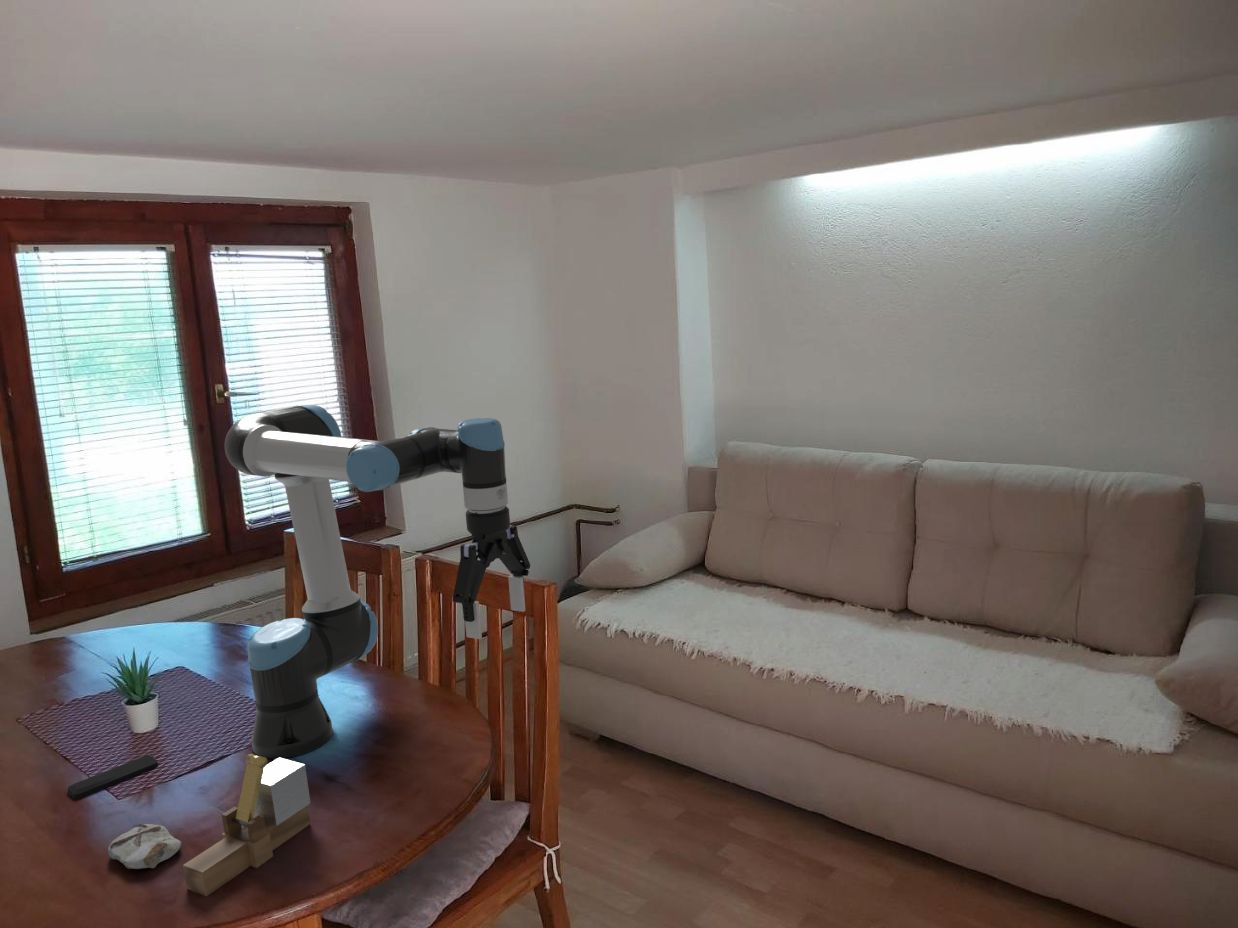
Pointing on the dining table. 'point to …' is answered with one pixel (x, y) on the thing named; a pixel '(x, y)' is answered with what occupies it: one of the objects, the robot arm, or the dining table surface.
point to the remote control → (111, 777)
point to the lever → (250, 789)
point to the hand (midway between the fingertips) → (497, 623)
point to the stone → (144, 846)
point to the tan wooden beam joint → (239, 850)
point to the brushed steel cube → (282, 791)
